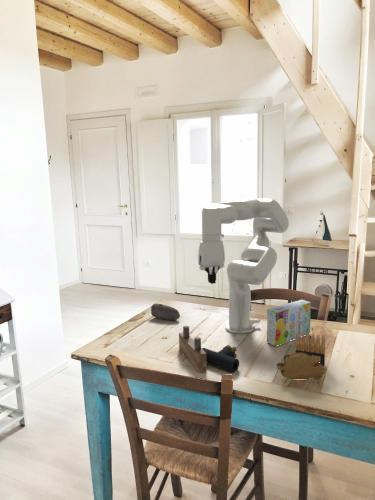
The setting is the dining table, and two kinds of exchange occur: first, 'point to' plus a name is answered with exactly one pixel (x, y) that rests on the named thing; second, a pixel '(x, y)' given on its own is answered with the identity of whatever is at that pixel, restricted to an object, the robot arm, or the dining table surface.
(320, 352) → the ammunition clip
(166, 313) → the perforated stone tool
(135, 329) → the dining table surface
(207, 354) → the pipe connector
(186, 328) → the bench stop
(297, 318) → the snack box
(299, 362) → the wooden carving
